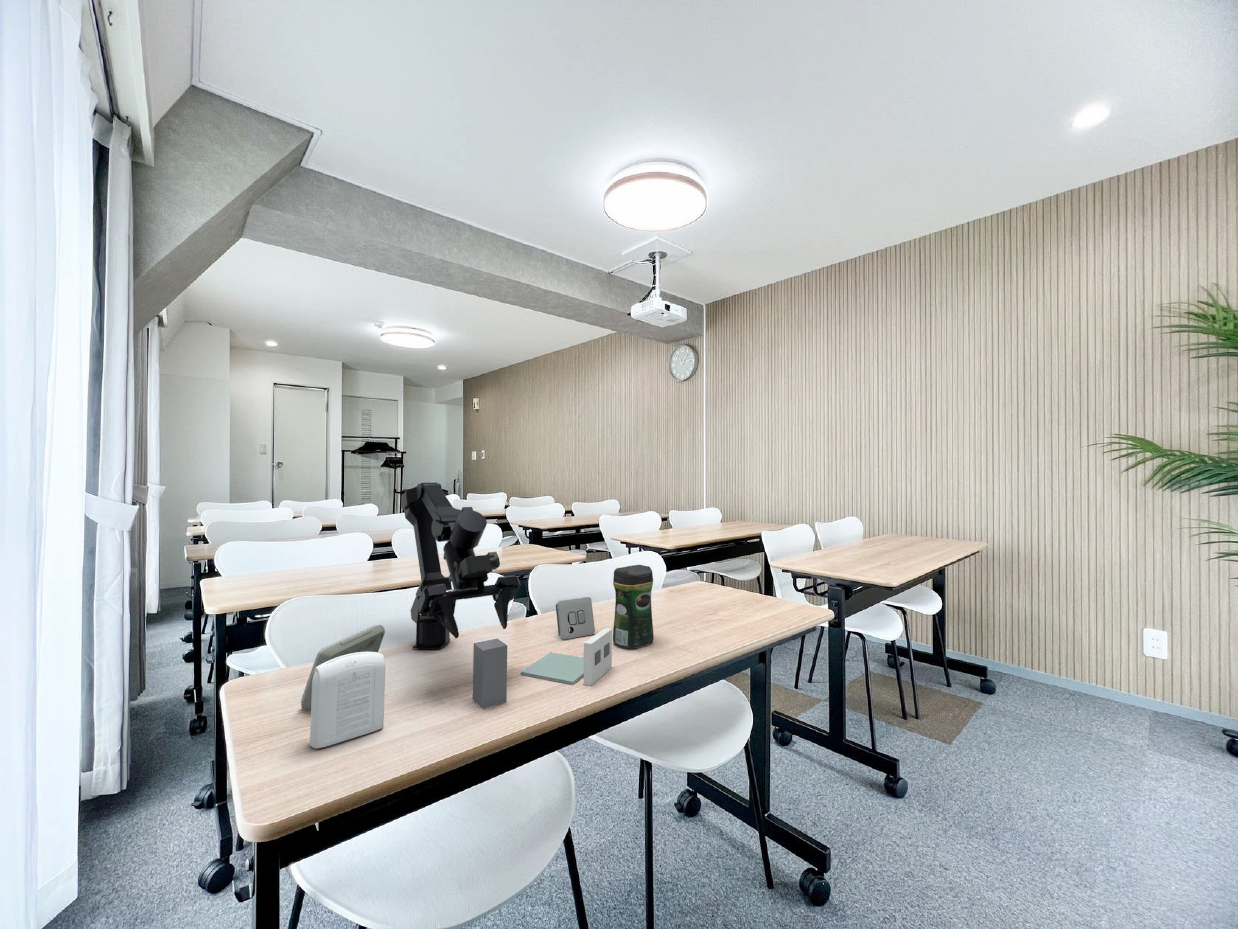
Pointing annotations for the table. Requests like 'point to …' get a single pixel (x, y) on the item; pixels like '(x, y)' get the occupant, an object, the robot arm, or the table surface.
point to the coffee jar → (633, 606)
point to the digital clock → (344, 653)
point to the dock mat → (557, 668)
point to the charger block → (490, 673)
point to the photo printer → (347, 698)
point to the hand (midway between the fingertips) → (482, 632)
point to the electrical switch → (575, 618)
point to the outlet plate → (597, 656)
